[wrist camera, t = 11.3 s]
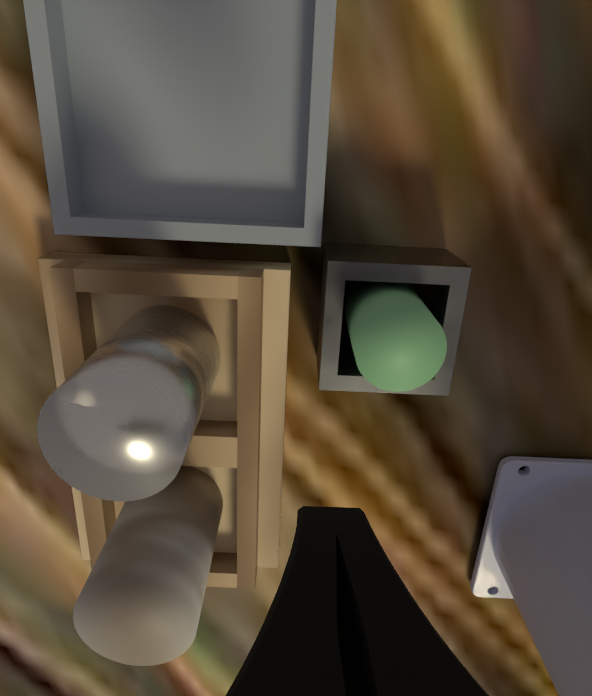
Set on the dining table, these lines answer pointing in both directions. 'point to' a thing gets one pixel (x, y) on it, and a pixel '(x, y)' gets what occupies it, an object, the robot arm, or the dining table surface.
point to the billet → (132, 406)
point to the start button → (393, 335)
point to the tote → (185, 117)
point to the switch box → (388, 266)
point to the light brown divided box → (201, 457)
